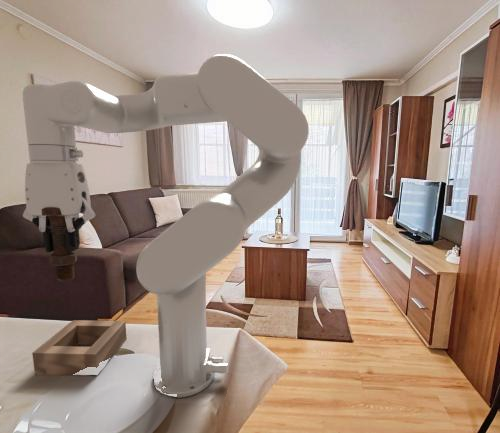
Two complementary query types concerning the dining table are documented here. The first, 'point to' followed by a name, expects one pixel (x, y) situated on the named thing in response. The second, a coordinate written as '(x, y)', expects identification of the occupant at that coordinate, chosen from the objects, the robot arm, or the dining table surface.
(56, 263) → the bolt
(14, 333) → the dining table surface
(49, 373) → the socket block
